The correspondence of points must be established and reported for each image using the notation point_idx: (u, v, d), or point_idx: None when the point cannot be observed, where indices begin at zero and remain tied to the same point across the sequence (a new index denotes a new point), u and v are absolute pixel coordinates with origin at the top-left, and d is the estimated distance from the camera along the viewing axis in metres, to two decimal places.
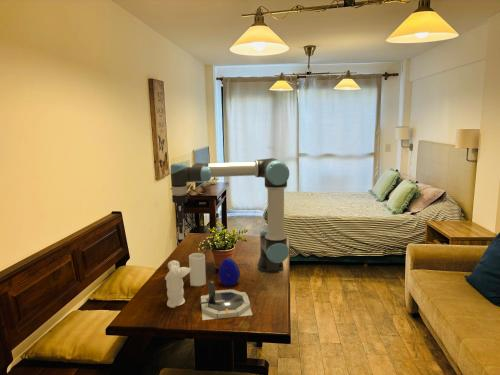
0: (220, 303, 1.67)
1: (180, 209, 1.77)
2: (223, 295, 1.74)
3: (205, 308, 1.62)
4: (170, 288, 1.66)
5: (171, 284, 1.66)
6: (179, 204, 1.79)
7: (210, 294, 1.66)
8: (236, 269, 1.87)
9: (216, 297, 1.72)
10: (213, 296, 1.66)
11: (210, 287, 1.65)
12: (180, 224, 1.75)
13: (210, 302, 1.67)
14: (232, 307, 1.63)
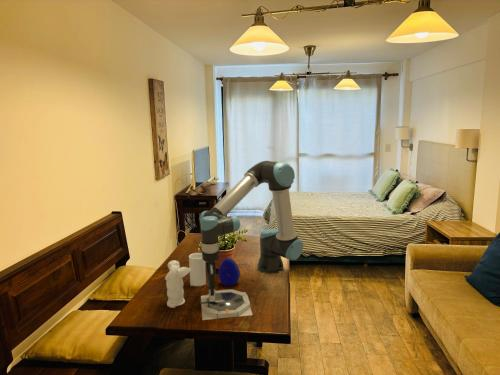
0: (220, 303, 1.67)
1: (212, 273, 1.59)
2: (223, 295, 1.74)
3: (205, 308, 1.62)
4: (170, 288, 1.66)
5: (171, 284, 1.66)
6: (210, 263, 1.60)
7: None
8: (236, 269, 1.87)
9: (216, 297, 1.72)
10: None
11: None
12: (212, 287, 1.61)
13: (210, 302, 1.67)
14: (232, 307, 1.63)
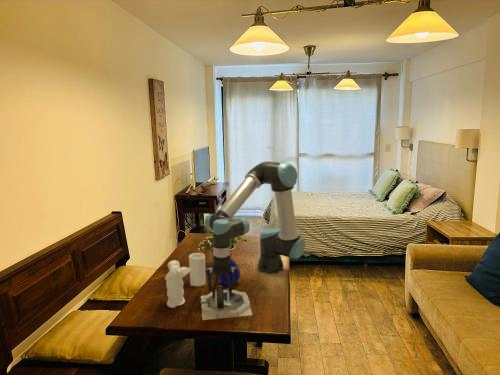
0: None
1: None
2: (214, 300, 1.70)
3: (205, 308, 1.62)
4: (170, 288, 1.66)
5: (171, 284, 1.66)
6: (230, 264, 1.60)
7: (222, 299, 1.61)
8: None
9: (213, 303, 1.67)
10: (223, 300, 1.63)
11: (222, 291, 1.61)
12: None
13: (222, 307, 1.62)
14: (239, 300, 1.69)
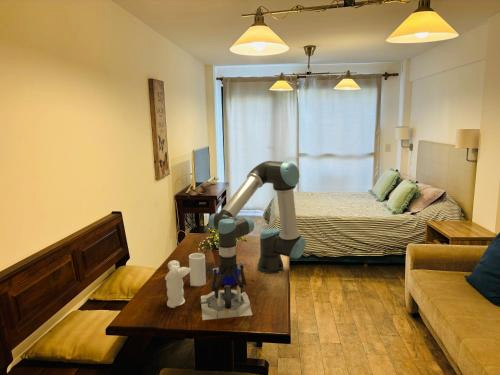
0: (230, 302, 1.67)
1: None
2: (214, 303, 1.67)
3: (205, 308, 1.62)
4: (170, 288, 1.66)
5: (171, 284, 1.66)
6: None
7: (230, 298, 1.62)
8: (236, 269, 1.87)
9: (217, 306, 1.64)
10: None
11: (230, 290, 1.61)
12: None
13: (231, 306, 1.63)
14: None
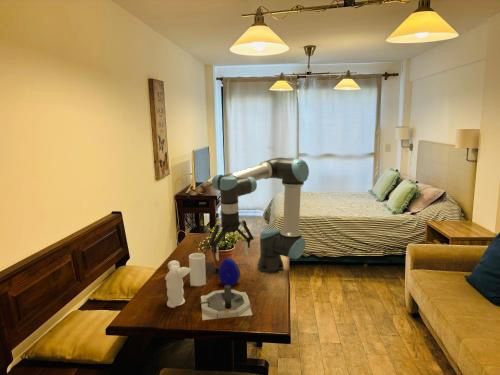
0: (230, 302, 1.67)
1: None
2: (214, 303, 1.67)
3: (205, 308, 1.62)
4: (170, 288, 1.66)
5: (171, 284, 1.66)
6: None
7: (230, 298, 1.62)
8: (236, 269, 1.87)
9: (217, 306, 1.64)
10: None
11: (230, 290, 1.61)
12: None
13: (231, 306, 1.63)
14: (237, 296, 1.73)
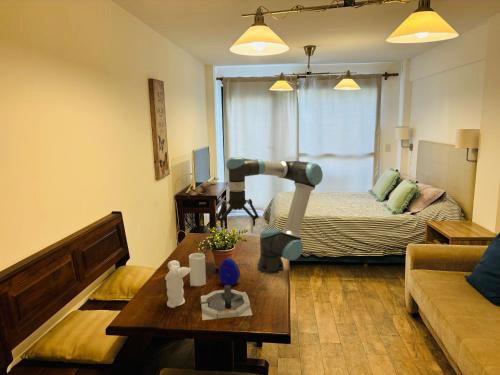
0: (230, 302, 1.67)
1: (251, 201, 1.74)
2: (214, 303, 1.67)
3: (205, 308, 1.62)
4: (170, 288, 1.66)
5: (171, 284, 1.66)
6: None
7: (230, 298, 1.62)
8: (236, 269, 1.87)
9: (217, 306, 1.64)
10: None
11: (230, 290, 1.61)
12: (257, 215, 1.75)
13: (231, 306, 1.63)
14: (237, 296, 1.73)
